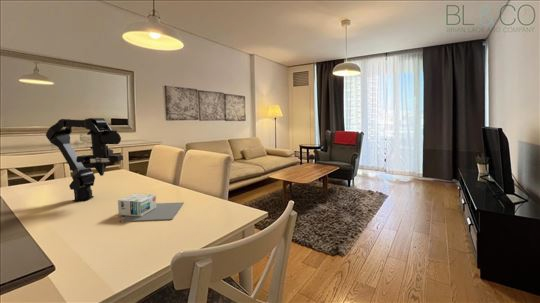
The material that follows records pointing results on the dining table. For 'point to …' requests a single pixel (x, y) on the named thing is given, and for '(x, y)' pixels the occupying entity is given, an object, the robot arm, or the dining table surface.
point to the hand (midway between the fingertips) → (101, 175)
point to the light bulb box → (137, 204)
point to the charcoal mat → (157, 213)
